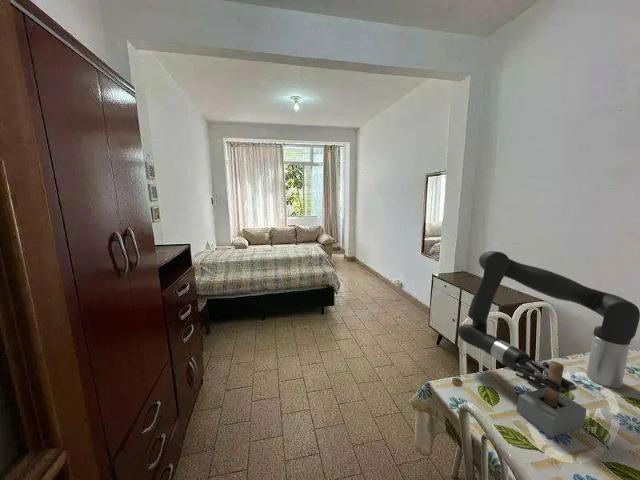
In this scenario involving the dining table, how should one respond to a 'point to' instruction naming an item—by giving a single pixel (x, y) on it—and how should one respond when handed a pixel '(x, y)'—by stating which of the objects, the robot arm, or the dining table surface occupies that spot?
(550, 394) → the brown wooden rod
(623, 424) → the dining table surface
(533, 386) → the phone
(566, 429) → the box
